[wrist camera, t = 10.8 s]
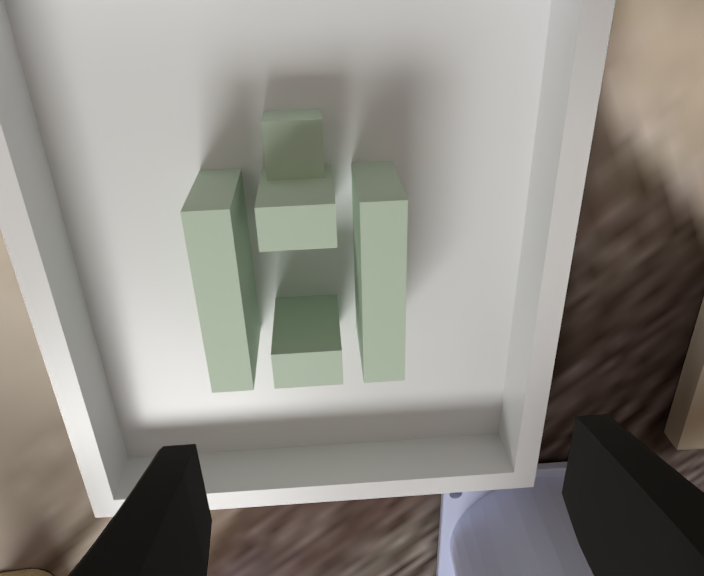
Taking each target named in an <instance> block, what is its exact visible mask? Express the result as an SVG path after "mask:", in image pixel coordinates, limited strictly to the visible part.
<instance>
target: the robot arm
mask: <svg viewBox="0 0 704 576" xmlns="http://www.w3.org/2000/svg"><path fill="white" fill-rule="evenodd" d="M211 524H212V518H211V514H210V509H209V504H208V499H207V495H206V490H205V485H204V480H203V476H202V471H201V466H200V461H199V456H198V452H197V447H196V444H186V445H172V446H163V447H162V448H161V449H160V450H159V451H158V452H157V454H156V455H155V457H154V458H153V460H152V461H151V463H150V464H149V466H148V467H147V469H146V470H145V472H144V473H143V475H142V476H141V478H140V479H139V481H138V482H137V484H136V485H135V487H134V488H133V490H132V491H131V493H130V494H129V495H128V497H127V498H126V500H125V501H124V503H123V504H122V506H121V507H120V508H119V510H118V511H117V513H116V514H115V515H114V517H113V518H112V519H111V521H110V522H109V523H108V525H107V526H106V528H105V529H104V530H103V532H102V533H101V534H100V536H99V537H98V538H97V540H96V541H95V542H94V544H93V545H92V546H91V548H90V549H89V550H88V552H87V553H86V554H85V555H84V557H83V558H82V559H81V560H80V562H79V563H78V564H77V565H76V566H75V568H74V569H73V570H72V571H71V573H70V574H69V575H68V576H207V567H208V557H209V547H210V536H211ZM436 576H704V492H702V491H701V490H700V489H698V488H697V487H696V486H695V485H693V484H692V483H691V482H690V481H688V480H687V479H686V478H684V477H683V476H682V475H681V474H679V473H678V472H677V471H676V470H675V469H673V468H672V467H671V466H670V465H668V464H667V463H666V462H665V461H664V460H662V459H661V458H660V457H659V456H657V455H656V454H655V453H654V452H653V451H651V450H650V449H649V448H648V447H647V446H645V445H644V444H643V443H642V442H641V441H639V440H638V439H637V438H636V437H635V436H633V435H632V434H631V433H630V432H628V431H627V430H626V429H625V428H624V427H622V426H621V425H620V424H619V423H618V422H616V421H615V420H614V419H612V418H611V417H610V416H609V415H607V414H603V415H589V416H576V417H575V423H574V428H573V434H572V439H571V445H570V450H569V456H568V461H567V462H556V463H541V464H537V470H536V476H535V482H534V487H527V488H513V489H498V490H484V491H470V492H456V493H442V495H441V510H440V525H439V540H438V555H437V570H436Z"/></svg>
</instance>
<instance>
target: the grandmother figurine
mask: <svg viewBox="0 0 704 576" xmlns="http://www.w3.org/2000/svg"><path fill="white" fill-rule="evenodd" d="M0 576H53V575H52V574H50V573H49V572H46V571H44V570H39V569H25V570H17V571H9V572H3V573H0Z"/></svg>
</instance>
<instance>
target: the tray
mask: <svg viewBox="0 0 704 576" xmlns="http://www.w3.org/2000/svg"><path fill="white" fill-rule="evenodd" d="M614 6H615V0H0V229H1V232H2V235H3V238H4V241H5V244H6V247H7V250H8V253H9V256H10V259H11V262H12V265H13V268H14V271H15V274H16V277H17V280H18V283H19V286H20V290H21V293H22V296H23V299H24V302H25V305H26V308H27V311H28V314H29V317H30V320H31V323H32V326H33V329H34V332H35V335H36V338H37V341H38V344H39V347H40V350H41V354H42V357H43V360H44V363H45V366H46V369H47V372H48V375H49V378H50V381H51V384H52V387H53V390H54V393H55V396H56V399H57V402H58V405H59V408H60V411H61V414H62V418H63V421H64V424H65V427H66V430H67V433H68V436H69V439H70V442H71V445H72V448H73V451H74V454H75V457H76V460H77V463H78V466H79V469H80V472H81V475H82V478H83V482H84V485H85V488H86V491H87V494H88V497H89V500H90V503H91V506H92V509H93V512H94V515H95V518H101V517H114V515H115V514H116V513H117V511H118V510H119V508H120V507H121V506H122V504H123V503H124V501H125V500H126V498H127V497H128V495H129V494H130V493H131V491H132V490H133V488H134V487H135V485H136V484H137V482H138V481H139V479H140V478H141V476H142V475H143V473H144V472H145V470H146V469H147V467H148V466H149V464H150V463H151V461H152V460H153V458H154V457H155V455H156V454H157V452H158V451H159V450H160V449H161V448H162V447H163V446H172V445H186V444H196V447H197V452H198V456H199V461H200V466H201V471H202V476H203V480H204V485H205V490H206V495H207V499H208V504H209V509H210V510H214V509H229V508H243V507H257V506H271V505H285V504H300V503H314V502H328V501H342V500H356V499H371V498H385V497H399V496H413V495H427V494H442V493H456V492H470V491H484V490H498V489H513V488H527V487H534V482H535V476H536V470H537V464H538V458H539V452H540V446H541V440H542V434H543V428H544V422H545V416H546V410H547V404H548V399H549V393H550V387H551V381H552V375H553V369H554V363H555V357H556V351H557V345H558V339H559V333H560V327H561V321H562V315H563V309H564V303H565V298H566V292H567V286H568V280H569V274H570V268H571V262H572V256H573V250H574V244H575V238H576V232H577V226H578V220H579V214H580V208H581V202H582V197H583V191H584V185H585V179H586V173H587V167H588V161H589V155H590V149H591V143H592V137H593V131H594V125H595V119H596V113H597V107H598V101H599V96H600V90H601V84H602V78H603V72H604V66H605V60H606V54H607V48H608V42H609V36H610V30H611V24H612V18H613V12H614ZM300 109H321V114H322V128H323V148H324V164H331V171H332V179H333V187H334V195H335V203H336V225H337V248H324V249H305V250H287V251H269V252H259V246H258V237H257V228H256V219H255V210H254V206H255V201H256V196H257V191H258V185H259V180H260V175H261V170H262V167H265V159H264V149H263V138H262V128H261V119H262V115H263V111H277V110H300ZM378 161H392V162H393V165H394V167H395V170H396V172H397V175H398V177H399V179H400V182H401V184H402V187H403V189H404V192H405V194H406V197H407V199H408V224H407V282H406V340H405V380H402V381H387V382H372V383H364V380H363V372H362V365H361V358H360V351H359V343H358V336H357V329H356V311H355V278H354V244H353V210H352V176H351V163H357V162H378ZM233 168H241V170H242V179H243V187H244V195H245V204H246V212H247V221H248V229H249V237H250V246H251V254H252V262H253V271H254V279H255V287H256V296H257V304H258V312H259V321H260V329H261V331H260V340H259V349H258V357H257V366H256V375H255V384H254V390H248V391H233V392H218V393H212V390H211V384H210V379H209V373H208V367H207V361H206V356H205V350H204V344H203V339H202V333H201V327H200V322H199V316H198V310H197V305H196V299H195V293H194V288H193V282H192V276H191V271H190V265H189V259H188V253H187V248H186V242H185V236H184V231H183V225H182V219H181V214H180V211H181V209H182V207H183V205H184V202H185V200H186V198H187V196H188V194H189V192H190V190H191V187H192V185H193V183H194V181H195V179H196V177H197V175H198V172H199V170H213V169H233ZM334 294H337V303H338V314H339V324H340V335H341V346H342V363H343V384H341V385H325V386H310V387H295V388H279V389H275V388H274V379H273V370H272V361H271V346H272V334H273V321H274V309H275V298H283V297H300V296H317V295H334Z"/></svg>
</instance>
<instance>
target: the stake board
mask: <svg viewBox="0 0 704 576" xmlns="http://www.w3.org/2000/svg"><path fill="white" fill-rule="evenodd" d="M664 434H665V435H666V436H667V438H668V439H669V440H670V442H671V443H672V444H673V446H674V447H675V448H676V450H687V449H701V448H704V297H703V301H702V304H701V308H700V311H699V314H698V318H697V321H696V325H695V328H694V331H693V335H692V338H691V342H690V345H689V348H688V352H687V355H686V359H685V362H684V365H683V369H682V372H681V375H680V379H679V382H678V386H677V389H676V392H675V396H674V399H673V403H672V406H671V409H670V413H669V416H668V420H667V423H666V426H665V430H664Z"/></svg>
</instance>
